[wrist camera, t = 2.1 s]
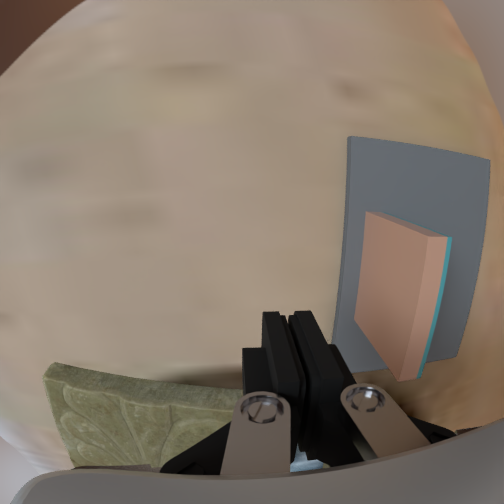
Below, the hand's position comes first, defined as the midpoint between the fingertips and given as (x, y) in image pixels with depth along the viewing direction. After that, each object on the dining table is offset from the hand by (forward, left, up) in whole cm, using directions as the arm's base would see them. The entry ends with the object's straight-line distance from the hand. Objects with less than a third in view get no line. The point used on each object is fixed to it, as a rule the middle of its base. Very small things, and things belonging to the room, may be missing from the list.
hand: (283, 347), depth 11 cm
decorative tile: (-20, +10, -12) cm, 26 cm away
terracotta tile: (0, -8, -11) cm, 13 cm away
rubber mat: (0, -12, -12) cm, 17 cm away
